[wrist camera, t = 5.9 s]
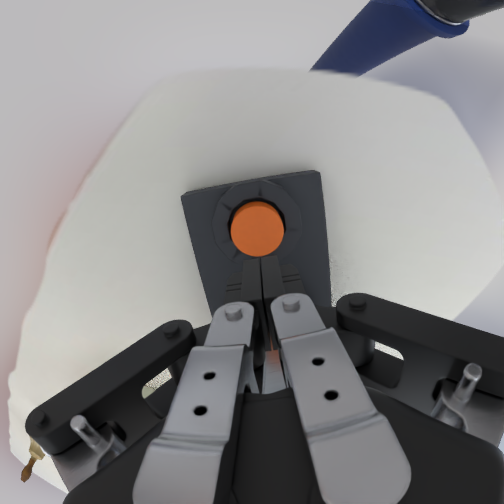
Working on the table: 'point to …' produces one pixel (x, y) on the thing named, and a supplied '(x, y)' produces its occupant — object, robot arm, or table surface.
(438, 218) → the table surface
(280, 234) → the switch
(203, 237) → the push button base
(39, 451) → the hand bell
